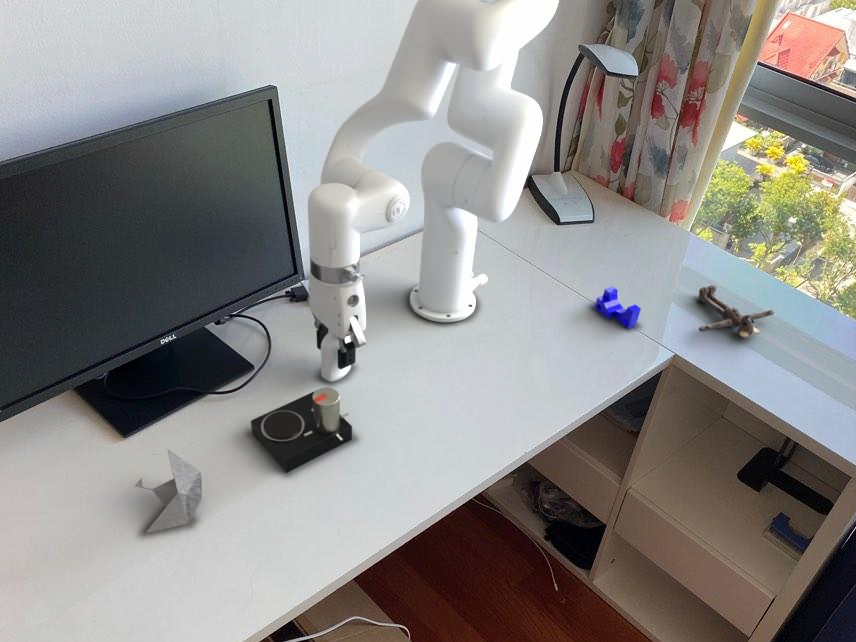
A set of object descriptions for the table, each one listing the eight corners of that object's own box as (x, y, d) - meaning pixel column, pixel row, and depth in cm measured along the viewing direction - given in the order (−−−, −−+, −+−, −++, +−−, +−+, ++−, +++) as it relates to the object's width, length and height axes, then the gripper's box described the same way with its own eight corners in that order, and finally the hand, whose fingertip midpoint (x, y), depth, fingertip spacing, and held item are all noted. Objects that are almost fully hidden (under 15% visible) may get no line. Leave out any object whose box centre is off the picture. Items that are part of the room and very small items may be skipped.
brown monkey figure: (742, 276, 163) (794, 312, 152) (737, 295, 165) (787, 331, 155) (670, 292, 157) (719, 331, 146) (665, 311, 159) (713, 350, 149)
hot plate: (322, 401, 132) (321, 386, 130) (363, 442, 126) (363, 428, 124) (252, 434, 126) (250, 419, 124) (292, 479, 120) (291, 465, 118)
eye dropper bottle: (356, 377, 137) (356, 321, 129) (324, 384, 135) (323, 328, 127) (347, 361, 140) (347, 305, 132) (316, 368, 138) (314, 312, 130)
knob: (330, 412, 126) (329, 382, 122) (344, 426, 124) (344, 397, 120) (308, 422, 124) (307, 392, 120) (323, 437, 122) (322, 407, 118)
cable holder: (594, 307, 157) (598, 291, 154) (607, 303, 158) (612, 286, 155) (622, 330, 152) (627, 313, 149) (635, 325, 153) (641, 308, 151)
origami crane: (191, 540, 109) (121, 527, 107) (190, 542, 115) (124, 530, 113) (212, 454, 112) (144, 440, 110) (210, 460, 118) (146, 447, 116)
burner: (289, 406, 127) (289, 403, 126) (313, 430, 123) (312, 427, 123) (252, 423, 123) (252, 420, 123) (275, 448, 120) (275, 445, 120)
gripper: (388, 284, 120) (384, 375, 132) (323, 232, 129) (326, 322, 142) (347, 300, 116) (347, 392, 129) (283, 246, 125) (289, 337, 138)
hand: (336, 354), depth 135 cm, fingers open, 5 cm apart
